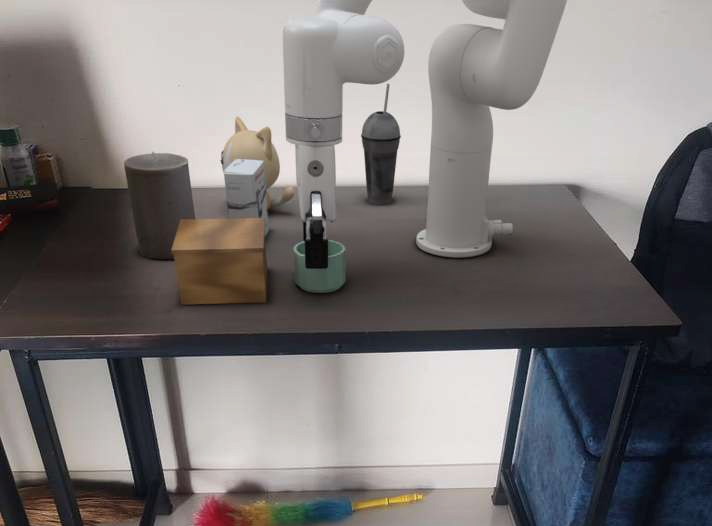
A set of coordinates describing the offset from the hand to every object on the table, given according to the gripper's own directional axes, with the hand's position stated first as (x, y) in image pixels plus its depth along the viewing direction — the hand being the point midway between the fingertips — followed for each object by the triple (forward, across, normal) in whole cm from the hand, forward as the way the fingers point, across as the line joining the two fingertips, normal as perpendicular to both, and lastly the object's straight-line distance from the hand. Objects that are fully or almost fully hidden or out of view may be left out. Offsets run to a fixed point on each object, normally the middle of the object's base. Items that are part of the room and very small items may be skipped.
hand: (315, 255), depth 112 cm
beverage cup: (+4, +40, -14) cm, 42 cm away
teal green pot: (+4, 0, -1) cm, 5 cm away
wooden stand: (+5, 0, +13) cm, 14 cm away
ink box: (+5, +20, +10) cm, 23 cm away
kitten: (+4, +36, +10) cm, 37 cm away
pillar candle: (+5, +16, +23) cm, 29 cm away
